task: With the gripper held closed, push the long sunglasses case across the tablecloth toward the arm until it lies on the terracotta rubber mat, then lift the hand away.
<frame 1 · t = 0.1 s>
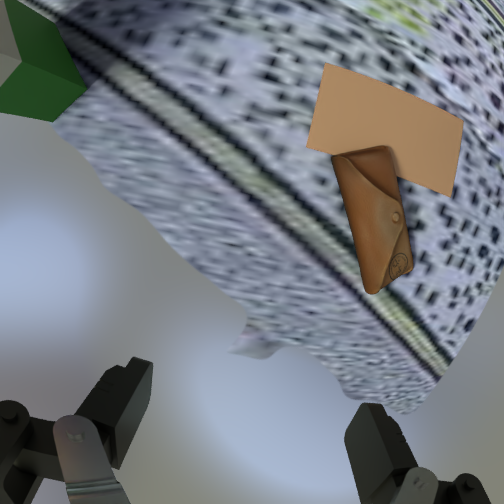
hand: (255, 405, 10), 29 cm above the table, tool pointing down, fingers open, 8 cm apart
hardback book: (52, 68, 33), on the table
sunglasses case: (375, 216, 38), on the table, touching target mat
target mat: (395, 129, 35), on the table
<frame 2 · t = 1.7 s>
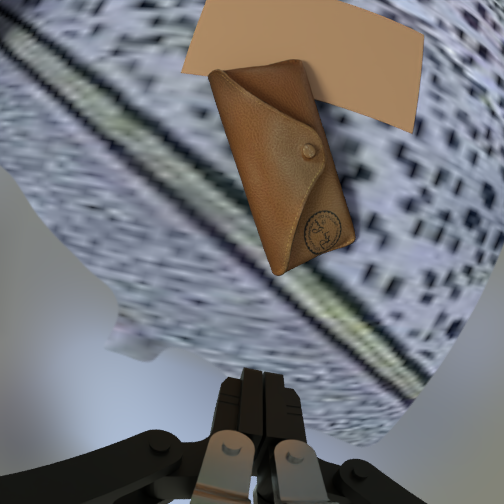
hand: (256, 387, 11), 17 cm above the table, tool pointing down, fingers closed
sunglasses case: (286, 158, 26), on the table, touching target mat
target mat: (314, 40, 23), on the table
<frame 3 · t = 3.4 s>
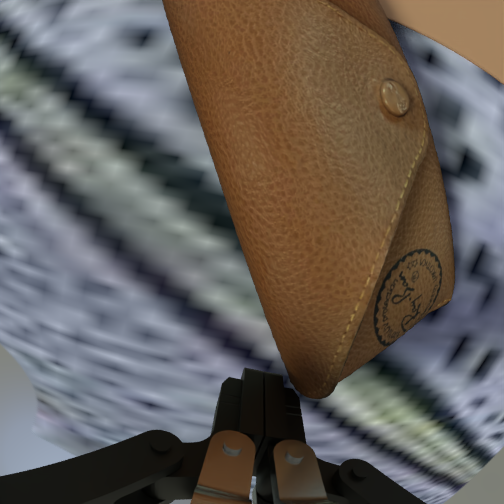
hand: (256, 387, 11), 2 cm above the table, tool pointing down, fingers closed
sunglasses case: (323, 124, 11), on the table, touching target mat
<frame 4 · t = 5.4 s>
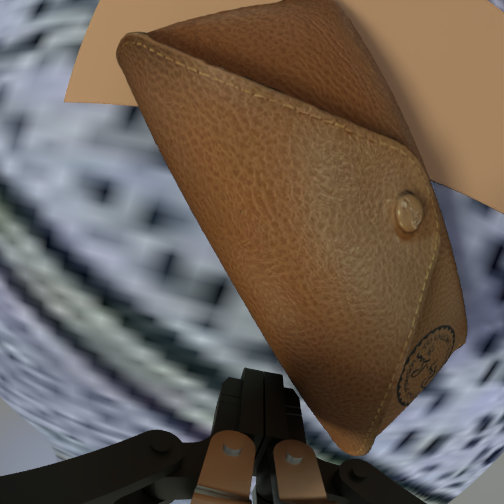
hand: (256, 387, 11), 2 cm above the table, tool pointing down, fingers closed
sunglasses case: (335, 217, 11), on the table, touching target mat
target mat: (348, 13, 9), on the table
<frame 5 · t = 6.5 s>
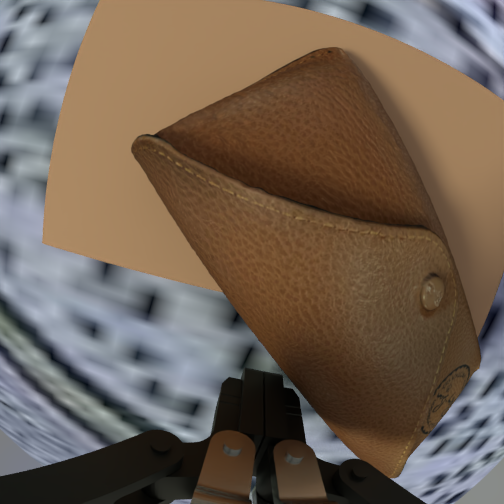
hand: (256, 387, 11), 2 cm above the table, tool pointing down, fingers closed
sunglasses case: (361, 282, 12), on the table, touching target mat
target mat: (318, 153, 11), on the table
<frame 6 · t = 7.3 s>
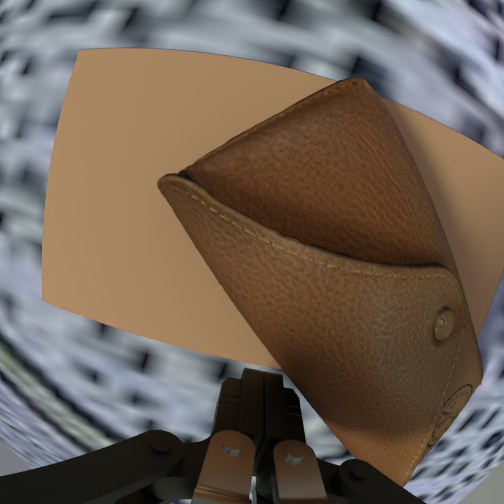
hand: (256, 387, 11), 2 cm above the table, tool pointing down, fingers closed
sunglasses case: (375, 308, 12), on the table, touching gripper, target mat
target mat: (298, 230, 11), on the table
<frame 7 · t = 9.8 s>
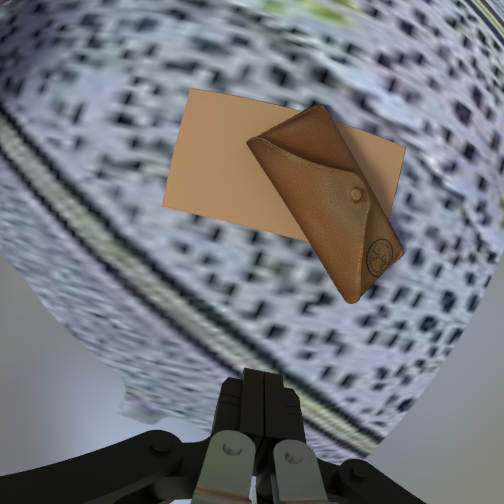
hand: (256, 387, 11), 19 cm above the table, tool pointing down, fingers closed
sunglasses case: (332, 200, 29), on the table, touching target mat
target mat: (288, 171, 28), on the table
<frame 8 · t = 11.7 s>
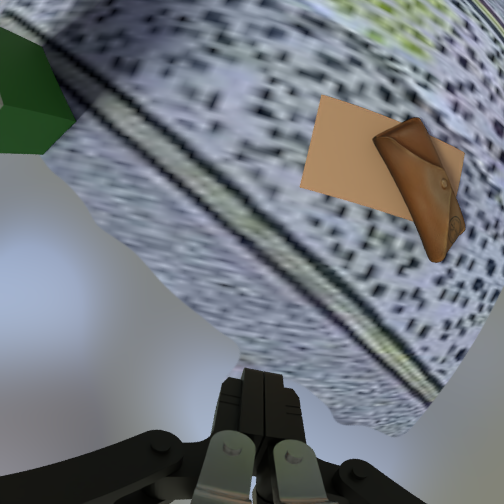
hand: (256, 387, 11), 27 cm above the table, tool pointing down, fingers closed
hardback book: (40, 96, 33), on the table
sunglasses case: (422, 187, 35), on the table, touching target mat
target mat: (393, 166, 35), on the table
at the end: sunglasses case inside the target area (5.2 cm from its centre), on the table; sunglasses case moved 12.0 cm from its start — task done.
